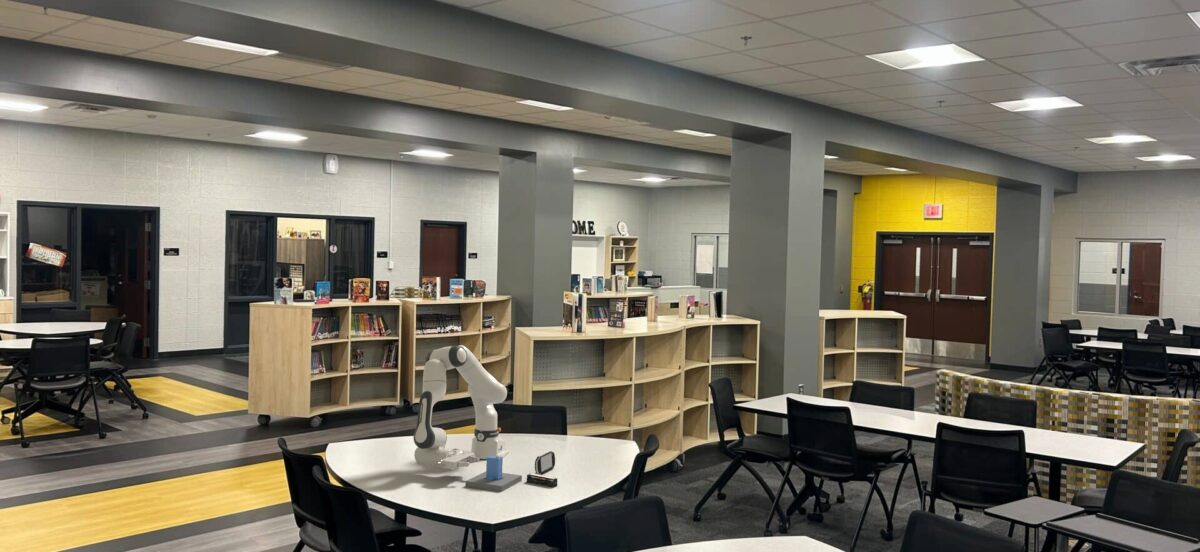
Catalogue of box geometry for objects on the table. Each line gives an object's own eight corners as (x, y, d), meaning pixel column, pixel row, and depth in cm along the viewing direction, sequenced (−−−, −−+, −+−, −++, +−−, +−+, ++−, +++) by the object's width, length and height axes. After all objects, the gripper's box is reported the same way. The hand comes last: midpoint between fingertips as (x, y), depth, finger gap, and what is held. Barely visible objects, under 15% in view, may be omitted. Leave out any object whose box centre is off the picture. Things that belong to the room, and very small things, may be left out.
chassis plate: (486, 476, 386) (486, 470, 386) (521, 480, 380) (521, 475, 380) (465, 486, 368) (465, 481, 368) (501, 491, 361) (501, 486, 361)
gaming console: (534, 476, 388) (539, 476, 387) (533, 457, 388) (537, 457, 388) (552, 467, 406) (556, 468, 405) (551, 449, 406) (555, 449, 405)
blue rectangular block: (493, 480, 380) (493, 451, 379) (504, 481, 378) (505, 453, 377) (482, 485, 370) (483, 456, 370) (494, 487, 368) (495, 457, 368)
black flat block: (530, 478, 386) (531, 469, 386) (576, 487, 374) (576, 478, 374) (512, 485, 374) (512, 476, 374) (558, 494, 361) (559, 485, 361)
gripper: (435, 456, 373) (462, 460, 368) (458, 447, 392) (484, 450, 387) (434, 470, 373) (461, 474, 368) (457, 461, 392) (483, 464, 387)
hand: (473, 462), depth 378 cm, fingers open, 8 cm apart
